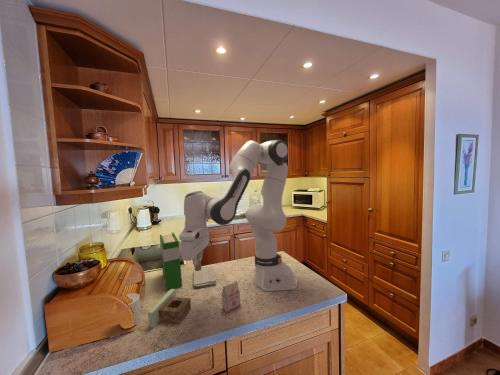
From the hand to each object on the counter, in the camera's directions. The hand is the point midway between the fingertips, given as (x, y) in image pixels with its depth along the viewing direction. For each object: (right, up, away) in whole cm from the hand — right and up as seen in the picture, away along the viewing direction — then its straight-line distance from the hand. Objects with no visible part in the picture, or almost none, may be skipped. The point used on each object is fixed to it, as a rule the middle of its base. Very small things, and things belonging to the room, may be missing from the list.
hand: (197, 262), depth 92 cm
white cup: (-25, -22, -7) cm, 34 cm away
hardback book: (-20, -19, +25) cm, 37 cm away
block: (-8, -21, -3) cm, 22 cm away
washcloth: (-2, -19, +25) cm, 32 cm away
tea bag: (+14, -19, +1) cm, 24 cm away
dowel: (0, -3, 0) cm, 3 cm away
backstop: (-14, -21, -2) cm, 25 cm away
